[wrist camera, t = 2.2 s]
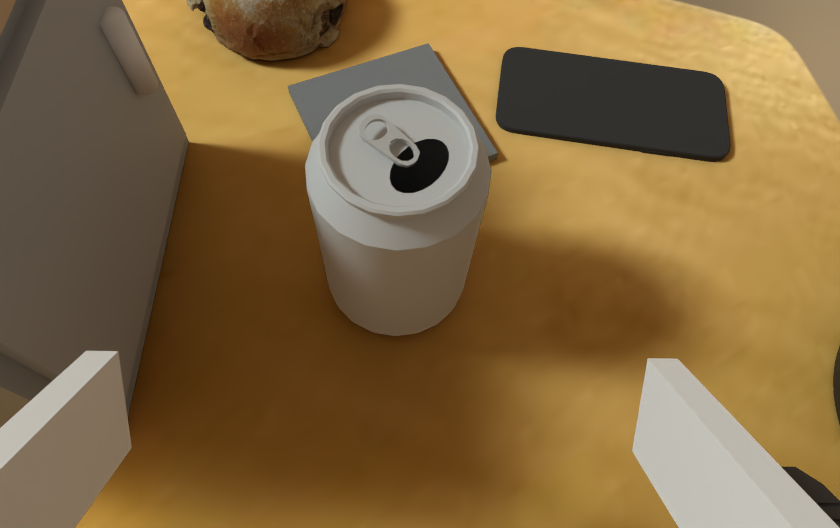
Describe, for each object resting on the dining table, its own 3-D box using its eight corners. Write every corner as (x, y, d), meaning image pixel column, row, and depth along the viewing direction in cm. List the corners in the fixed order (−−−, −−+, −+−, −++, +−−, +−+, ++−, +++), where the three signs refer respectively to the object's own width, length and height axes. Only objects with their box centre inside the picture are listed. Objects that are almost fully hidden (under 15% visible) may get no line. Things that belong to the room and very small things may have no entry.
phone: (504, 43, 41) (723, 72, 40) (502, 52, 42) (717, 81, 41) (494, 127, 38) (732, 160, 37) (492, 135, 38) (726, 168, 38)
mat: (427, 50, 41) (428, 43, 40) (496, 158, 37) (497, 152, 36) (289, 92, 39) (287, 86, 38) (346, 213, 35) (345, 207, 34)
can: (410, 369, 31) (420, 266, 20) (300, 289, 32) (256, 154, 22) (489, 267, 34) (535, 128, 23) (384, 198, 35) (382, 39, 25)
